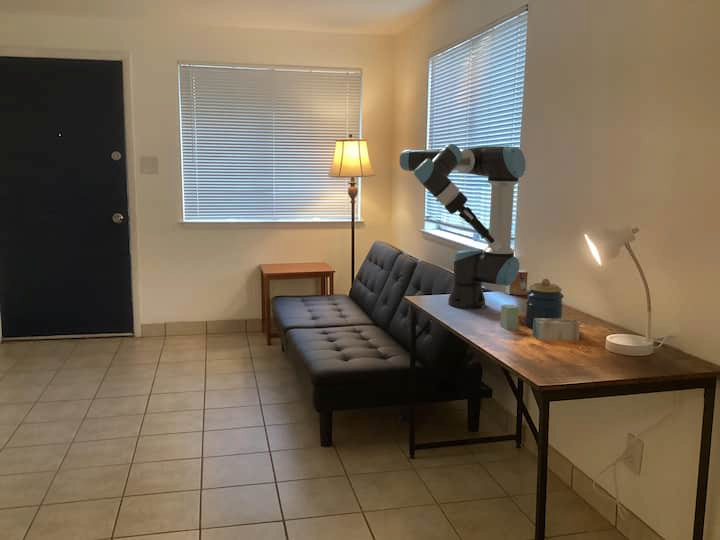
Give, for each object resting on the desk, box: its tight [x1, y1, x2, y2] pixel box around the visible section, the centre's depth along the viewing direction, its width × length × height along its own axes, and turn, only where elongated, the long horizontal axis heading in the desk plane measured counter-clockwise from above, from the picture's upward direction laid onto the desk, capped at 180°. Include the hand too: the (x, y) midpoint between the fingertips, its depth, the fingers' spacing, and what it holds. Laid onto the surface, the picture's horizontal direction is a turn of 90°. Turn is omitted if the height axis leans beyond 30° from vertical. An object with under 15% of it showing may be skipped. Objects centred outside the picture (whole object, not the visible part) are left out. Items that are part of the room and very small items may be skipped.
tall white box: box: [532, 318, 581, 341], centre depth 216 cm, size 6×6×14 cm
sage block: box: [499, 304, 520, 331], centre depth 228 cm, size 4×4×8 cm
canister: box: [524, 278, 565, 329], centre depth 230 cm, size 13×13×18 cm
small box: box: [505, 269, 529, 296], centre depth 286 cm, size 8×6×10 cm
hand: (498, 248), depth 215 cm, fingers closed
